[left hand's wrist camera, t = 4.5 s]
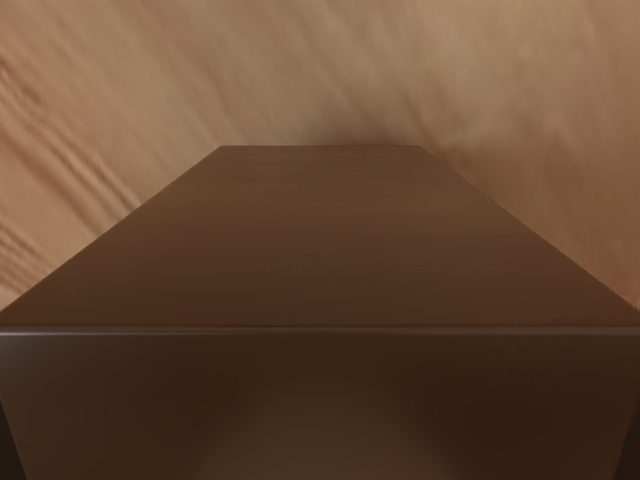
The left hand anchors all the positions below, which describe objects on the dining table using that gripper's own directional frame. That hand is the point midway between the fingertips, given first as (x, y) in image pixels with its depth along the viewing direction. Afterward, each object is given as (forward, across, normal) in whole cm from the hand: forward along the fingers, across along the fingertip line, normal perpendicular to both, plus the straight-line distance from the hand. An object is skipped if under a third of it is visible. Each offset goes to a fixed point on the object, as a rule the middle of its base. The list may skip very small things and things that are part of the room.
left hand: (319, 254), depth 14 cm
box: (+1, 0, -10) cm, 10 cm away
